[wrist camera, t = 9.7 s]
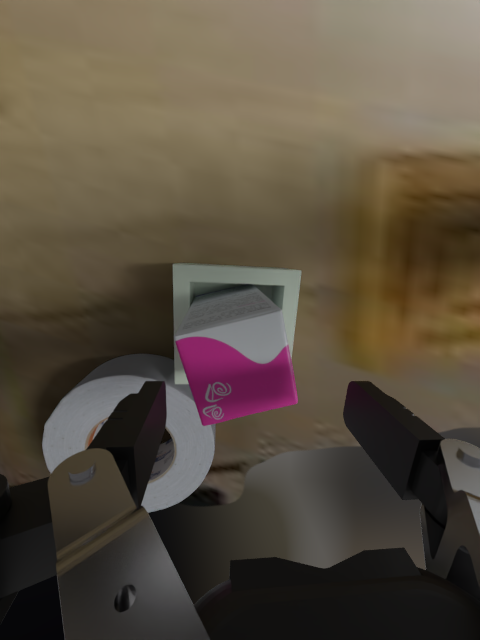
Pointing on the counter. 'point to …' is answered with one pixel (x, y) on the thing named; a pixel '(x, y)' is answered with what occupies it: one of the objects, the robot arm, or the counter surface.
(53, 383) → the counter surface
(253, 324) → the supplement box
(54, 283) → the counter surface
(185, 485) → the tape roll
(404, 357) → the counter surface
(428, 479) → the robot arm
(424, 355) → the counter surface
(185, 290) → the holder
